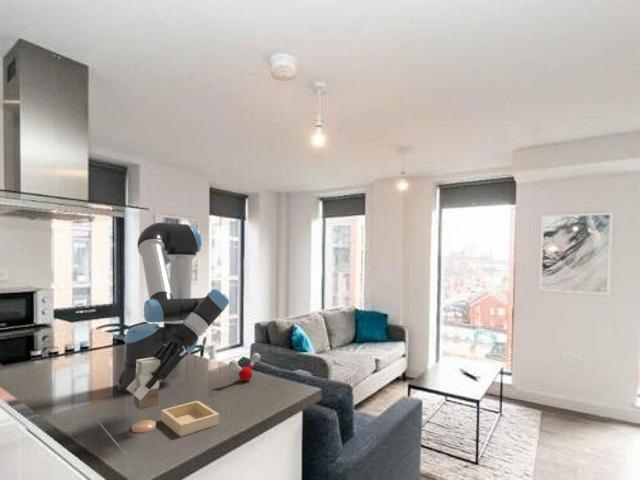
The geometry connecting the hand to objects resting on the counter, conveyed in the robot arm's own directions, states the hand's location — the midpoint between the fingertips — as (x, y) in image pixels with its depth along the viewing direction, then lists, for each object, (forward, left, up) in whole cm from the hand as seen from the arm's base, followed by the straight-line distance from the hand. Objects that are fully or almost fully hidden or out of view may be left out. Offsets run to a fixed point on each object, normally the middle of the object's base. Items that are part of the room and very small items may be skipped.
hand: (133, 394), depth 106 cm
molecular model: (+18, +51, -11) cm, 55 cm away
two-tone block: (+2, +3, -4) cm, 5 cm away
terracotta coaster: (+2, +3, -11) cm, 12 cm away
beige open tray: (+13, +9, -11) cm, 19 cm away
